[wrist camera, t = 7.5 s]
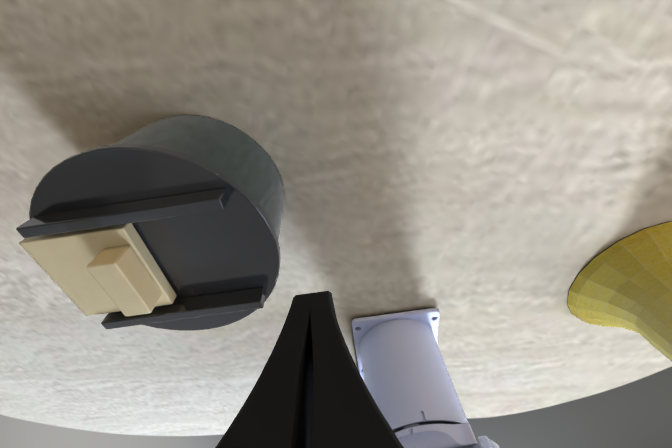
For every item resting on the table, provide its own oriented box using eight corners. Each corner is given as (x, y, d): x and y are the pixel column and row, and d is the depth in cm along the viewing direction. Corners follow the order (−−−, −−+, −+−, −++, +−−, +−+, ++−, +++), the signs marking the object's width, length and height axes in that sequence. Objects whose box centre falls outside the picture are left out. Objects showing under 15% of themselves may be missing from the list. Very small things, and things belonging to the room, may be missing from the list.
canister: (266, 95, 16) (234, 135, 10) (303, 246, 22) (298, 332, 16) (78, 124, 16) (-70, 181, 10) (165, 265, 22) (105, 358, 16)
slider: (130, 219, 12) (104, 246, 11) (177, 295, 15) (161, 325, 13) (29, 234, 12) (-11, 262, 11) (93, 306, 15) (68, 337, 13)
